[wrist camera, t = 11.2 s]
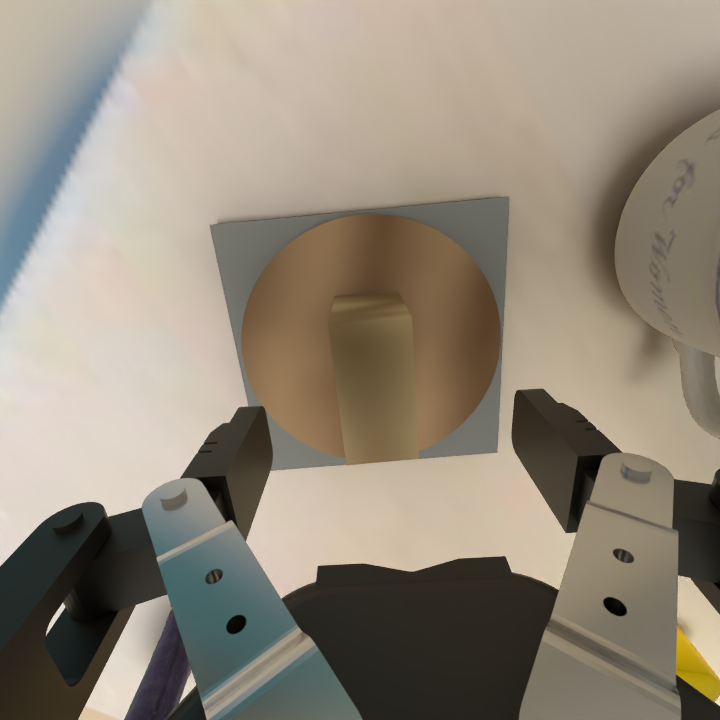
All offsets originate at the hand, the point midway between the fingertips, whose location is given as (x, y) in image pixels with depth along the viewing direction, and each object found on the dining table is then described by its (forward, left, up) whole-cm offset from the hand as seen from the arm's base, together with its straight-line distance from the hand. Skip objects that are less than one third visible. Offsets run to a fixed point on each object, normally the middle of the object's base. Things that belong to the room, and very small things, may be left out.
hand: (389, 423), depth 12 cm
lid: (0, 0, -8) cm, 8 cm away
